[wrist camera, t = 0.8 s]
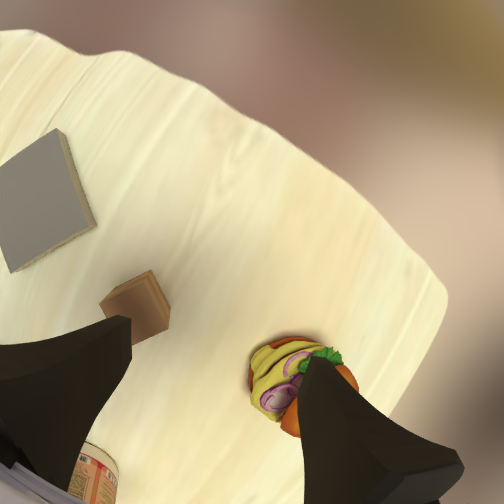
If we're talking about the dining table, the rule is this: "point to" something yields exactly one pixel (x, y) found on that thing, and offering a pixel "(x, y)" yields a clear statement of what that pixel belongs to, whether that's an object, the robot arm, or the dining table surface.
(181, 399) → the dining table surface
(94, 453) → the fruit juice
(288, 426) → the cheeseburger
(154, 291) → the walnut block
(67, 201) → the slate base
